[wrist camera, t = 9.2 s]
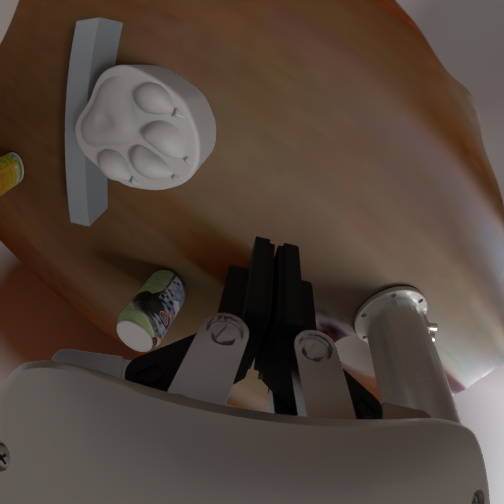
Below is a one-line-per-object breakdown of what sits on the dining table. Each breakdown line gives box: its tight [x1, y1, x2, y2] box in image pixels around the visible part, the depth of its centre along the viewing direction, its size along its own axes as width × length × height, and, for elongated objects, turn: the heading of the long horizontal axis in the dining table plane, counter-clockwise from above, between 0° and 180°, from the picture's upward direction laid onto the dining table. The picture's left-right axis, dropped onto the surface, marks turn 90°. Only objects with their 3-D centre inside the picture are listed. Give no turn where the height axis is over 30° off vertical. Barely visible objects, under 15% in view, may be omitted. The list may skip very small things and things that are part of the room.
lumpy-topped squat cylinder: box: [75, 65, 216, 190], centre depth 24 cm, size 10×13×9 cm
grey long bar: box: [65, 18, 123, 226], centre depth 25 cm, size 3×24×5 cm, turn 168°
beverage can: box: [117, 270, 187, 352], centre depth 36 cm, size 6×7×12 cm
